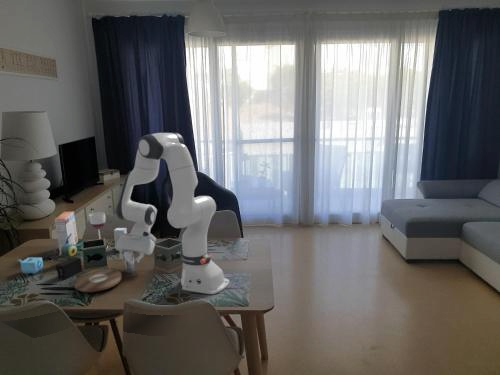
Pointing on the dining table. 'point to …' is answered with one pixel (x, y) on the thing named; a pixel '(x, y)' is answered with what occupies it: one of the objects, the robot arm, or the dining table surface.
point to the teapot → (31, 265)
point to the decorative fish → (70, 249)
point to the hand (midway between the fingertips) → (128, 260)
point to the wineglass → (97, 220)
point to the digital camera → (69, 268)
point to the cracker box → (66, 229)
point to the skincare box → (119, 233)
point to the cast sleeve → (129, 261)
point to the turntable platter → (97, 280)
